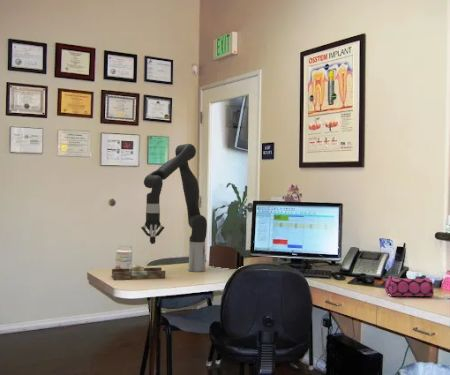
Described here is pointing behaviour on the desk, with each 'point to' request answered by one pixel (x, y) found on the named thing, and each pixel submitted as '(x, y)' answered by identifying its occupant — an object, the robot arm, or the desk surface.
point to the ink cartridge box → (124, 257)
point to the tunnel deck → (138, 274)
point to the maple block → (137, 268)
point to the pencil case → (409, 287)
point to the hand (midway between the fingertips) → (152, 243)
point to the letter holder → (225, 257)
